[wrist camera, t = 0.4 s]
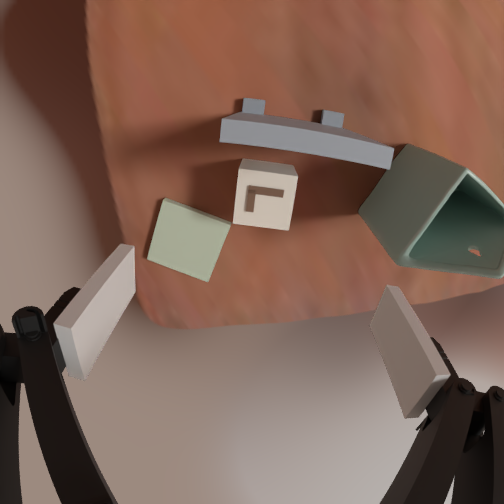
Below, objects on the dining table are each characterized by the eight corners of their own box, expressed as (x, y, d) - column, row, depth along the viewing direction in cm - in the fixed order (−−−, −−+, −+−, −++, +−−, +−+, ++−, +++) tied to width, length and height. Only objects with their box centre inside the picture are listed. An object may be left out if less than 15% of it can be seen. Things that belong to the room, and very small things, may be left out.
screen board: (236, 139, 35) (217, 166, 21) (241, 97, 33) (224, 93, 19) (337, 154, 35) (384, 192, 21) (344, 114, 33) (398, 125, 19)
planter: (457, 135, 33) (565, 176, 15) (462, 191, 36) (555, 256, 19) (347, 154, 35) (421, 210, 18) (358, 214, 39) (421, 307, 21)
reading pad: (165, 197, 39) (163, 200, 38) (231, 222, 40) (230, 225, 39) (149, 255, 43) (147, 259, 42) (209, 278, 44) (208, 282, 43)
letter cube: (242, 158, 36) (238, 168, 31) (293, 164, 36) (298, 176, 31) (237, 205, 39) (232, 224, 33) (285, 211, 39) (288, 231, 34)
